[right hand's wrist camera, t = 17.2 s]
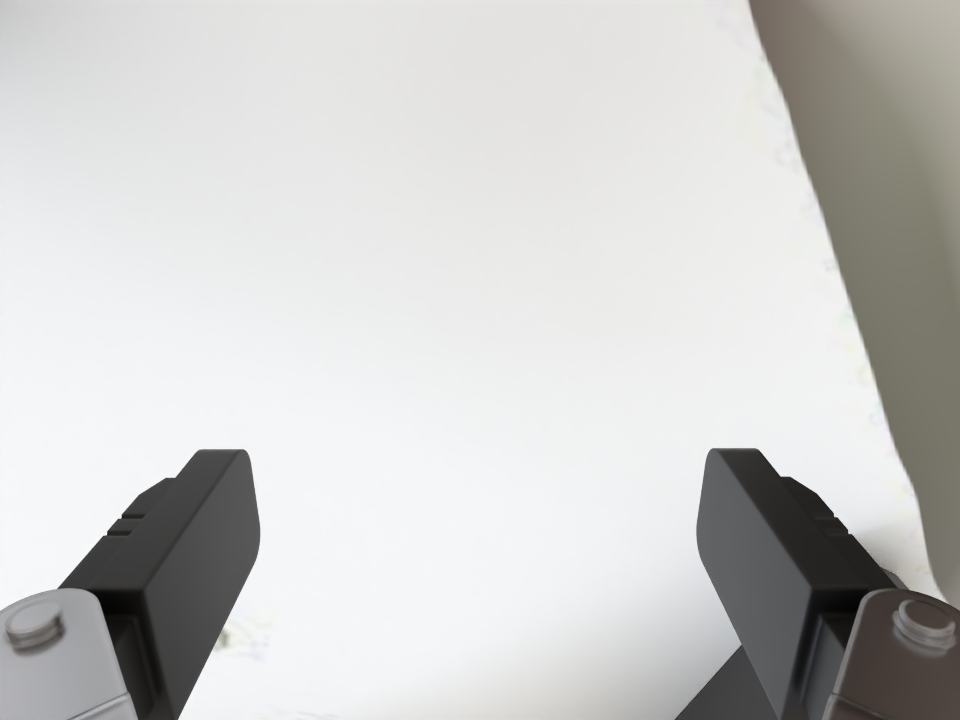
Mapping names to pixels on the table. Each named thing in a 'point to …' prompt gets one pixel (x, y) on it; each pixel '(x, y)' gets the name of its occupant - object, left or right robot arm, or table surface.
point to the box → (738, 690)
